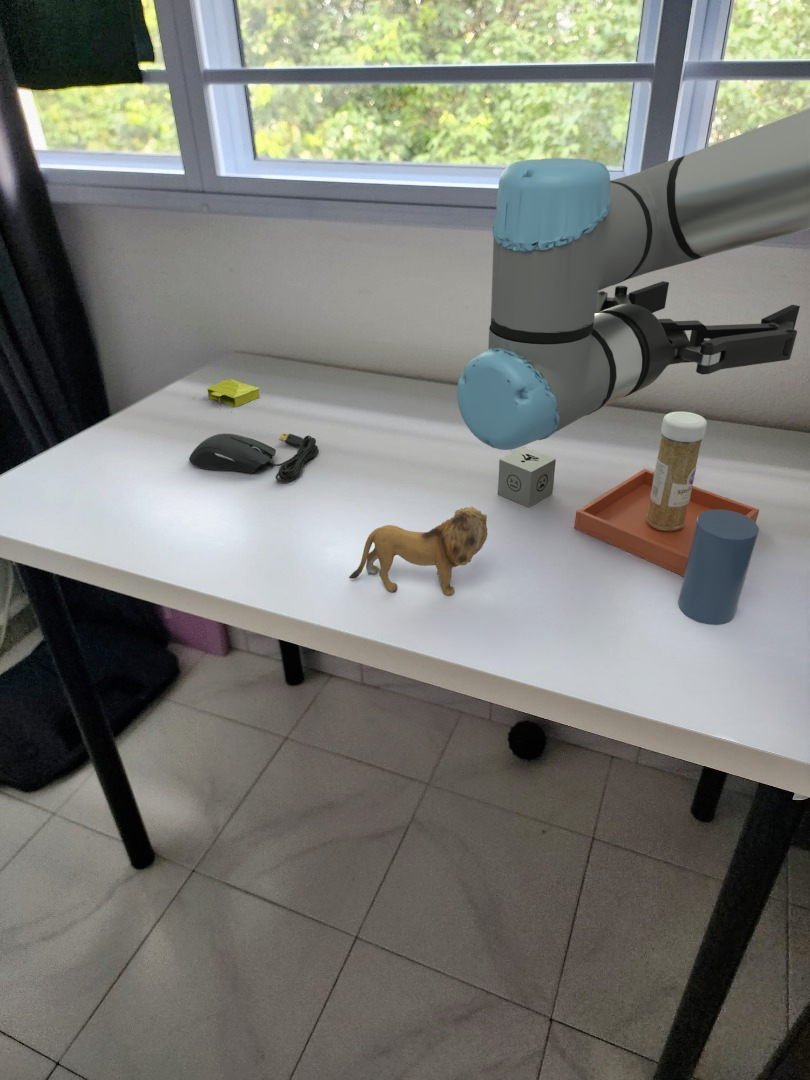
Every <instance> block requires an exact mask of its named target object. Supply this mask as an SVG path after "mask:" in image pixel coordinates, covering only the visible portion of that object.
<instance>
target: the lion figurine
mask: <svg viewBox="0 0 810 1080" xmlns="http://www.w3.org/2000/svg"><path fill="white" fill-rule="evenodd" d="M487 518H488V516H487V514H484V513H482V511H481V510H478V509H477V508H474V507H473V506H470V507H469V506H468V507H464V508H459V509H456V510H455V511H454V515H453V517H451V518H449V519H446V520H445V521H442V523H440V524H439V525H437V526H435V527H434V528H432V529H430V530H429V531H427V532H426V531H412V530H407V529H404V528H401V527H400V526H398V525H395V524H393V525H392V524H386V525H382V526H380V527H377V528H375V529H374V530H372V531H371V532H370V534H369V535H368V537H367V538H366V541H365V543H364V548H363V552H362V555H361V560H360V564H359V565H358V567H357V569H355V570H354V571H353V572H352V573H351V574H350V575H349V576H348V579H351V580H352V579H353V580H355V579H357V578H358V577H359V576H360V575H361V574H362V572H363V570H364V568H365V569H366V571H367V572H368V574H373V575H374V574H375V575H376V574H377V573H378V576H379V578H380V579H381V581H382V584H383V586H384V588H385V590H386V591H387V592H390V593H393V592H396V591H397V590H398V584H397V582H392V581H391V580H390V577H389V572H390V570H391V568H392V566H393V563H394V558H395V556H399V557H400V558H401V559H403V560H404V561H405V562H408V563H409V564H413V565H416V566H421V567H429V566H435V567H436V575H437V577H438V579H439V585H440V589H441V592H442V593H443V594H445V595H446V596H452V595H454V593H455V588H454V587H453V586H451V584H450V581H451V578H452V573H453V568H457V567H459V566H466V565H467V564H468V563H470V562H471V561H472V559H473V557H474V556H475V555H477V554H478V552H479V551H481V550H482V548H483V547H484V545H485V543H486V540H487V538H488V535H489V534H488V526H487ZM373 544H374V548H373V549H372V550H371V548H372V545H373ZM370 550H371V551H370ZM377 560H378V562H379V566H380V567H378V566H377V565H374V563H375V562H376V561H377Z"/></svg>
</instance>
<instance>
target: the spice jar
mask: <svg viewBox="0 0 810 1080" xmlns="http://www.w3.org/2000/svg"><path fill="white" fill-rule="evenodd" d="M707 424H708V422H707V420H706V418H704V416H702V415H700V414H697V413H694V412H690V411H673V412H668V413H667V414H665V415H664V416H663V419H662V424H661V429H660V433H661V438H660V443H659V444H660V445H659V450H658V455H657V457H656V463H655V467H654V472H655V473H654V479H653V484H652V490H651V495H650V498H651V500H650V505H649V511H648V514H647V516H646V521H647V523H648V524H649V525H650V526H651V527H653V528H655V529H658V530H661V531H668V532H669V531H671V532H672V531H678V530H680V529H682V528H683V527H684V526H685V517H686V511H687V507H688V503H689V500H690V496H691V491H692V486H694V480H695V475H696V471H697V464H698V459H699V453H700V449H701V445H702V444H701V443H702V442H703V439H704V437H705V435H706V431H707V426H708V425H707Z"/></svg>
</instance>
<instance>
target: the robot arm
mask: <svg viewBox="0 0 810 1080" xmlns="http://www.w3.org/2000/svg"><path fill="white" fill-rule="evenodd" d="M610 176H611V175H610V171H609V170H608V167H607V166H606V165H605V164H604V163H603V162H600V161H597V160H592V159H582V158H564V157H557V158H556V157H555V158H553V157H552V158H551V157H549V158H541V159H538V158H537V159H536V158H535V159H523V160H519V161H515V162H512V163H510V164H509V165H508V166H507V167H505V168H504V170H503V171H502V172H501V174H500V177H499V180H498V187H497V199H496V202H497V203H496V208H495V209H496V210H495V218H494V219H493V226H492V229H491V230H492V237H493V243H492V244H493V247H492V273H491V274H492V277H491V278H492V279H491V283H492V284H491V306H490V324H489V326H488V345H487V346H488V347H487V348H488V349H486V350H485V351H483V352H482V353H479V354H478V355H477V356H475V357H474V358H472V359H471V360H469V362H467V364H466V365H465V367H464V368H463V371H462V373H461V375H460V378H458V382H457V389H456V399H457V406H458V410H459V413H460V415H461V417H462V419H463V422H464V423H465V425H466V427H467V428H468V430H469V431H470V433H471V434H472V435H473V436H474V437H475V438H476V439H477V440H479V441H480V442H481V443H483V444H484V445H487V446H489V447H490V448H492V449H497V450H501V451H509V450H511V451H512V450H515V449H520V448H522V447H525V446H526V445H528V444H531V443H533V442H536V441H542V440H545V439H548V438H549V437H551V436H552V435H554V434H555V433H557V432H558V431H560V430H562V429H564V428H565V427H567V426H569V425H570V424H572V423H575V422H576V421H578V420H580V419H581V418H583V417H586V416H589V415H592V414H593V413H595V412H597V411H599V410H600V409H602V408H604V407H607V406H608V405H611V404H613V403H615V402H616V401H619V400H621V399H623V398H625V397H628V396H630V395H633V394H635V393H636V392H638V391H641V390H642V389H645V388H646V387H649V386H650V385H651V384H653V383H654V382H655V381H656V380H657V379H658V378H659V377H660V376H661V374H662V373H663V372H664V371H665V370H666V369H667V367H669V366H670V365H676V364H677V365H678V364H685V363H696V368H695V372H696V373H697V374H699V375H710V374H713V373H716V372H718V371H720V370H725V369H732V368H739V367H749V366H755V365H762V364H769V363H777V362H784V361H789V360H791V358H792V354H793V350H794V346H795V342H796V338H797V334H798V330H797V329H795V327H796V324H797V320H798V316H799V313H800V308H801V306H800V305H797V304H790V305H788V306H786V307H784V308H782V309H780V310H778V311H776V312H774V313H772V314H770V315H767V316H765V317H763V318H761V320H760V323H743V324H742V323H741V324H713V325H705V324H703V323H702V322H701V321H699V320H673V319H672V318H658V317H657V316H656V315H655V314H654V313H656V312H659V311H661V310H664V309H666V303H667V297H668V293H669V286H670V282H669V281H664V280H662V281H659V282H655V283H654V284H650V285H648V286H645V287H642V288H640V289H636V290H634V291H631V292H628V288H629V287H628V286H626V285H619V284H620V283H623V282H625V281H627V280H631V279H633V278H636V277H639V276H642V275H645V274H649V273H653V272H655V271H660V270H663V269H667V268H670V267H674V266H678V265H682V264H685V263H690V262H693V261H697V260H700V259H702V258H706V257H709V256H713V255H716V254H721V253H724V252H728V251H732V250H736V249H740V248H744V247H748V246H752V245H756V244H760V243H764V242H767V241H771V240H774V239H778V238H783V237H786V236H790V235H794V234H797V233H802V232H806V231H809V230H810V107H809V108H807V109H804V110H802V111H799V112H797V113H793V114H791V115H788V116H786V117H783V118H781V119H777V120H776V121H773V122H770V123H766V124H765V125H764V124H763V125H762V126H759V127H756V128H754V129H752V130H748V131H746V132H743V133H740V134H738V135H736V136H733V137H730V138H727V139H725V140H722V141H720V142H717V143H714V144H712V145H709V146H707V147H703V148H700V149H698V150H696V151H693V152H691V153H688V154H686V155H683V156H679V157H677V158H673V159H669V160H668V161H666V162H663V163H659V164H657V165H654V166H652V167H649V168H647V169H644V170H641V171H639V172H635V173H631V174H629V175H626V176H622V177H618V178H615V179H611V177H610ZM611 286H615V289H614V297H609V295H608V294H609V293H608V292H606V291H604V289H607V288H610V287H611ZM687 331H690V336H689V337H688V335H687V333H686V332H687Z"/></svg>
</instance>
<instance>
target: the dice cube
mask: <svg viewBox="0 0 810 1080" xmlns="http://www.w3.org/2000/svg"><path fill="white" fill-rule="evenodd" d="M556 461H557V458H555V457H552V456H549V455H548V454H544V453H542V452H539V451H536V450H534V449H531V448H529V447H526V446H522V447H520V448H518V449H517V450H515V451H513V452H512V453H509V454H507V455H506V456H503V457H501V458H500V459H499V461H498V462H499V463H498V481H497V495H498V496H500V497H503V498H506V499H508V500H510V501H512V502H514V503H517V504H520V505H521V506H523V507H526V508H530V507H532V506H534V505H536V504H537V503H539V502H540V501H543V500H544V499H546V498H548V497H549V496H551V495H553V492H554V491H553V490H554V481H555V472H556Z"/></svg>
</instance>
